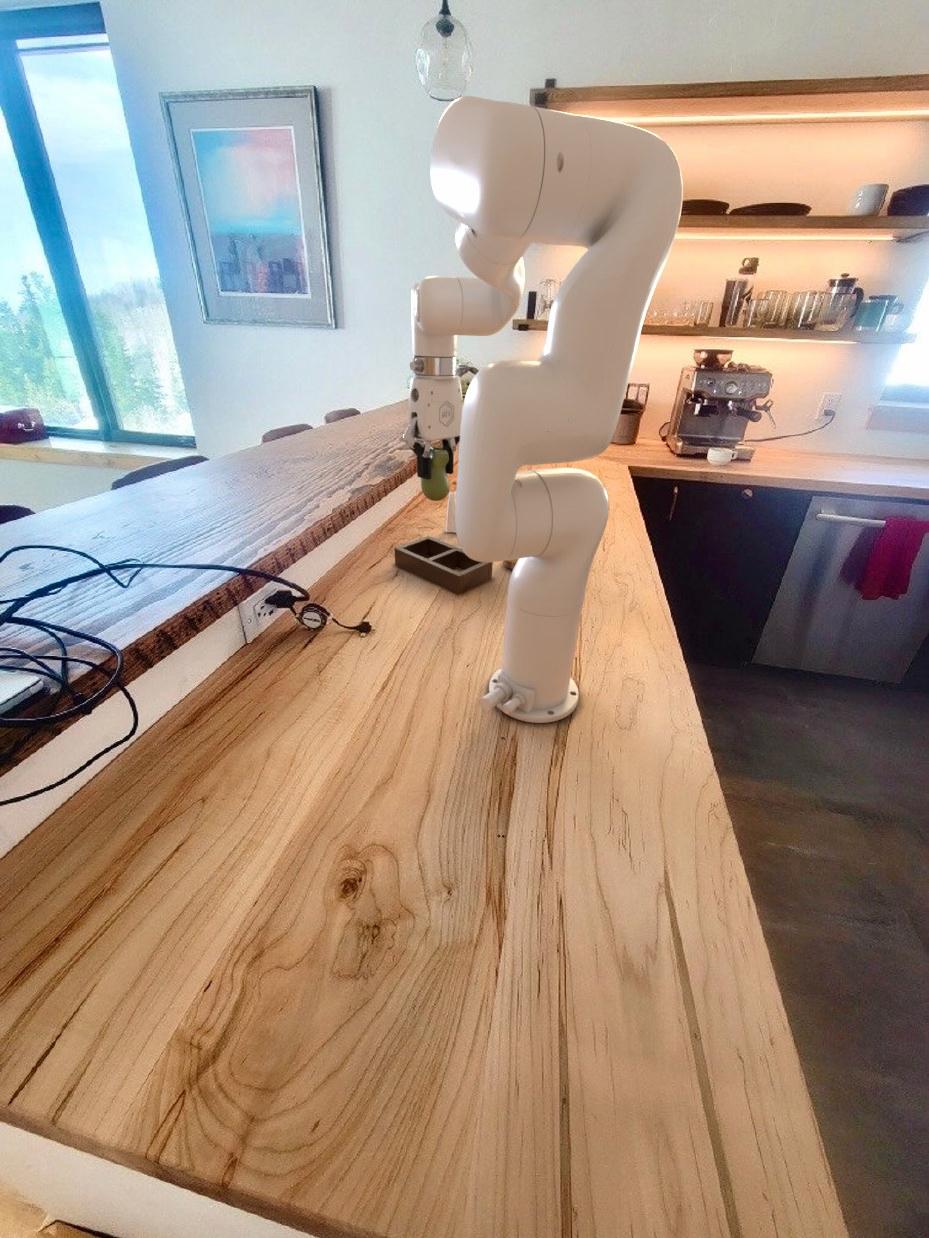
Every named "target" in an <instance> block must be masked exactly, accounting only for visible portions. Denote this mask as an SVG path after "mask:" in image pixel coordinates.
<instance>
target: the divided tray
mask: <svg viewBox="0 0 929 1238" xmlns="http://www.w3.org/2000/svg"><path fill="white" fill-rule="evenodd" d="M393 549H394V550H393V551H394V566H396V567H398V568H400V569H402V570H404V571H407V572H409V573H411V574H413V575H414V576H417V577H419V578H421V579H423V580H426V581H428V582H429V583H432V584H434V585H436V586H439V587H440V588H443V589H445V590H447V591H449V592H451V593H453V594H456V595H457V596H460V595H462V594H463V593H466V592H468V591H470V590H472V589H474V588H476V587H478V586H480V585H482V584H485V583H487V582H488V581H490V580H492V579H493V564H494V562H478V561H475V560H473V559H471V558H469V557H468V556H467V555H466V554H465V553H464V552H463V550H462V549H461V547H458V546H455V545H452V544H450V543H447V542H445V541H443V540H440V539H437V538H434V537H433V536H430V535H427V536H424V537H421V538H419V539H415V540H413V541H411V542H408V543H405V544H402V545H399V546H396V547H394V548H393ZM428 556H429V558H426V557H428ZM454 569H459V570H461V571H459V572H458V571H457V570H454Z"/></svg>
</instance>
